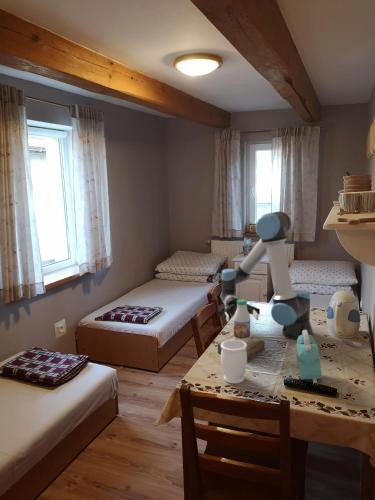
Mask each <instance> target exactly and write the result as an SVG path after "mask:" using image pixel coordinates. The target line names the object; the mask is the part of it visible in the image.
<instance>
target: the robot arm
mask: <svg viewBox="0 0 375 500" xmlns="http://www.w3.org/2000/svg"><path fill="white" fill-rule="evenodd" d="M291 227H292V219H291V217H290V216H289V214H287V213H286V212H284V211H274V212H268V213H265V214H262V215H261V216H260V217H259V218H257V221H256V222H255V232H256V234H257V236H259V238H260V239H259V240H258V241H257V243H256V244H255V245H254V247H253V248H252V249H251V251H250V252H249V253H248V255H247V256H246V257H244V259H243V261H242V262H241V263H240V264H239V266H238V267H237V268H236V269H234V268H224V269H222V270H221V276H220V279H221V293H220V299H221V303H223V305H221V307H220V309H218V311H217V317H219V318H220V317H221V318H222V319H225V320H226V322H227V323H230V316H229V315H231V314H235V312H236V310H237V300H239V298H238V296H237V285H239V284H241V283H243V282H247V281H248V280H250V278H251V275H252V273H253V271H255V269H256V268H257V267H258V265H259V264H260V263H261V261H263V259H264V258H265V257H266V255H267V259H268V264H269V269H270V270H269V271H270V274H271V280H272V286H273V293H274V295H273V296H272V297H271V298H272V304H273V305H272V307H271V310H270V314H271V317H272V319H273V321H274V322H275V323H277V324H278V325H279V326H283V327H282V335H283V337H286V338H287V339H292V340H296V341H297V339H298V337H299V336H300V335H302V331H303V330H307V331H308V334H309V335H311V336H312V337H314V332H313V328H312V324H311V321H310V319H311V316H310V315H311V312H310V311H311V294H310V293H309V292H307V291H304V290H298V289H297V290H296V289H294V290H293V286H292V285H293V284H292V280H291V279H292V278H291V273H290V269H289V263H288V258H287V252H286V246H285V242H286V240H287V234H288V233H289V231H290V229H291ZM246 307H247V310H248V312H249V315H252V316H253V318H254V319H255V320H256V321H259V315H260V313H261V309H260V308H259V307H256V306H253V305H250V304H249V303H247V306H246Z"/></svg>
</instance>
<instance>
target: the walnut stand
mask: <svg viewBox="0 0 375 500" xmlns="http://www.w3.org/2000/svg"><path fill="white" fill-rule="evenodd" d="M226 340H234V334H233V335H231V336H229V337H228V338H226V339H224V340H223V341H221V342H220V343H217V354H220V355H221V351H222V348H221V343H222V342H224V341H226ZM265 350H266V341H265V340H264V339H260V338H256V337H252V336H250V342H249V343H247V348H246V353H247V363H248V362H251V360H253V359H254V358H255V357H257V356H258V355H260V354H261V353H262V352H263V351H265Z"/></svg>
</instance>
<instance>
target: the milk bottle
mask: <svg viewBox="0 0 375 500" xmlns="http://www.w3.org/2000/svg"><path fill="white" fill-rule="evenodd" d="M238 299H239V298H238ZM247 304H248V301H247V299H243V298H242V299H239V300H237V310H236V312H235V313H234V315H233V335H234V340H240V341H243V342H245V343H246V344H247V343H249V342H250V337H251V316H250V315H251V314H249V312H248V310H247V307H246V306H247Z"/></svg>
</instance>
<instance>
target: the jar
mask: <svg viewBox="0 0 375 500" xmlns="http://www.w3.org/2000/svg"><path fill="white" fill-rule="evenodd" d="M225 340H226V339H225ZM223 341H224V340H223ZM223 341H221V342H222V343H221V342H220V343H221V348H222V351H221V354H220V363H221V364H220V365H221V369H222V372H223V374H224V375H223V380H224V381H225V382H226V383H228V384H241V383H242V382H244V381H245V376H244V375H245V373H246V369H247V365H248V364H247V363H248V362H247V353H246V348H247V344H246V343H245V342H243V341H240V340H226V341H224V342H223Z"/></svg>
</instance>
